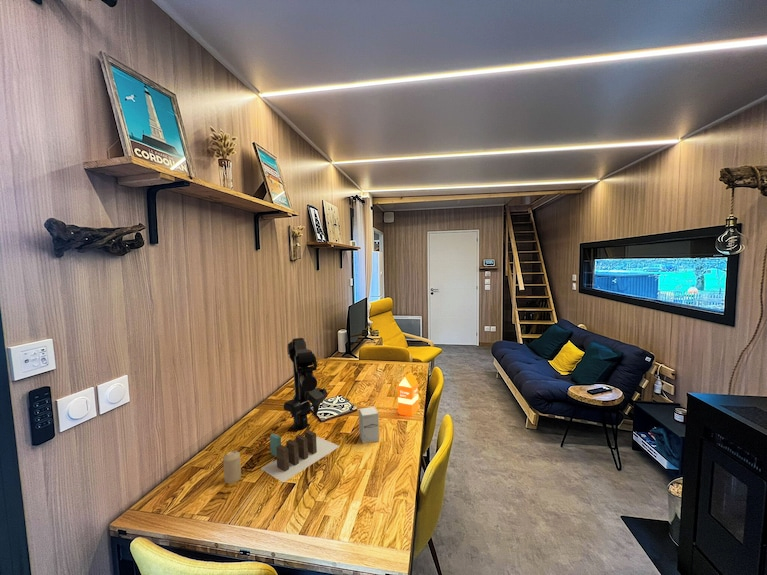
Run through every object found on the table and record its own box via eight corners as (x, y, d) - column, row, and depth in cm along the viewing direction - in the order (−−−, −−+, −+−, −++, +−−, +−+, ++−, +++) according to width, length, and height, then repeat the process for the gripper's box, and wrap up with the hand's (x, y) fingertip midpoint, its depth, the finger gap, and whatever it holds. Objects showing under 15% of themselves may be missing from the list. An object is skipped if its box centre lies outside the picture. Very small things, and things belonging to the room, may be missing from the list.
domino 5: (313, 454, 130) (312, 435, 129) (305, 450, 133) (304, 431, 132) (316, 452, 131) (316, 433, 131) (309, 448, 134) (308, 429, 134)
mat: (260, 469, 122) (260, 468, 122) (317, 437, 144) (317, 436, 144) (283, 483, 113) (283, 482, 113) (339, 446, 135) (339, 446, 135)
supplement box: (362, 444, 137) (361, 415, 136) (359, 436, 144) (358, 408, 143) (379, 441, 139) (378, 412, 138) (375, 433, 146) (374, 405, 145)
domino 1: (278, 458, 128) (277, 438, 128) (270, 454, 131) (269, 435, 131) (281, 456, 130) (280, 436, 129) (274, 452, 133) (273, 433, 132)
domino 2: (285, 471, 119) (284, 450, 119) (277, 467, 122) (276, 446, 122) (289, 469, 121) (288, 448, 120) (281, 464, 123) (280, 444, 123)
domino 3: (295, 465, 123) (294, 445, 122) (287, 461, 126) (286, 441, 125) (298, 463, 124) (297, 443, 124) (291, 459, 127) (290, 439, 127)
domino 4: (304, 459, 126) (303, 440, 126) (296, 455, 129) (295, 436, 129) (308, 457, 128) (307, 438, 127) (300, 453, 131) (299, 434, 130)
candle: (236, 472, 120) (235, 446, 119) (244, 478, 117) (242, 451, 116) (221, 480, 116) (220, 453, 115) (228, 486, 112) (227, 458, 112)
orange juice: (398, 413, 165) (397, 375, 164) (405, 407, 173) (404, 370, 171) (412, 416, 161) (411, 377, 160) (418, 409, 169) (418, 372, 168)
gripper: (301, 394, 119) (303, 435, 121) (336, 379, 135) (337, 415, 136) (281, 388, 126) (283, 427, 127) (317, 374, 141) (318, 409, 142)
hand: (307, 419), depth 133 cm, fingers open, 9 cm apart
